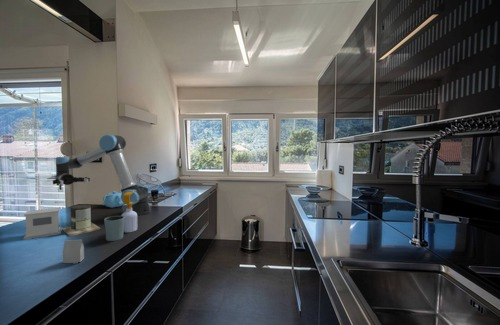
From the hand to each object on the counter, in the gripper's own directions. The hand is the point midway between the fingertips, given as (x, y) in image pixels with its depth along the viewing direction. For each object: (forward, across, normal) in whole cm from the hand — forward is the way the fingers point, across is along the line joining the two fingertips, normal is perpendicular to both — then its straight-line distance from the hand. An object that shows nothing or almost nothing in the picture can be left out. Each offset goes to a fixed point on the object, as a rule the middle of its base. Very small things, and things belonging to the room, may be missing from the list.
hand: (75, 181), depth 151 cm
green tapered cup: (+40, -8, -30) cm, 51 cm away
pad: (+10, 0, -30) cm, 31 cm away
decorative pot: (-39, -38, -30) cm, 62 cm away
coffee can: (+10, 0, -29) cm, 30 cm away
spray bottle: (+33, -19, -30) cm, 49 cm away
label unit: (+3, +17, -30) cm, 34 cm away
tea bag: (+56, +15, -30) cm, 65 cm away
